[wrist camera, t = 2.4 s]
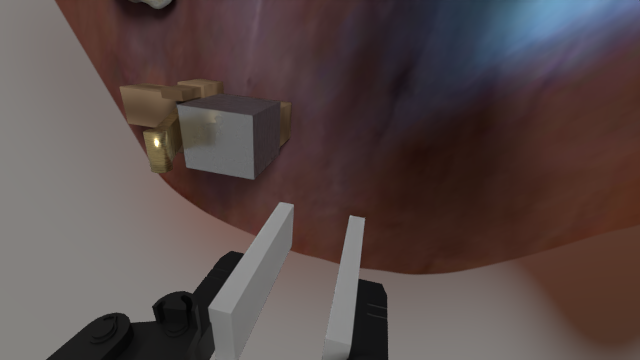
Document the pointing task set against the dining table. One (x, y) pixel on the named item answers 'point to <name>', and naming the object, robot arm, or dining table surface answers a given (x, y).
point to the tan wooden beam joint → (159, 101)
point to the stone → (154, 3)
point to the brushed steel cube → (230, 134)
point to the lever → (164, 142)
